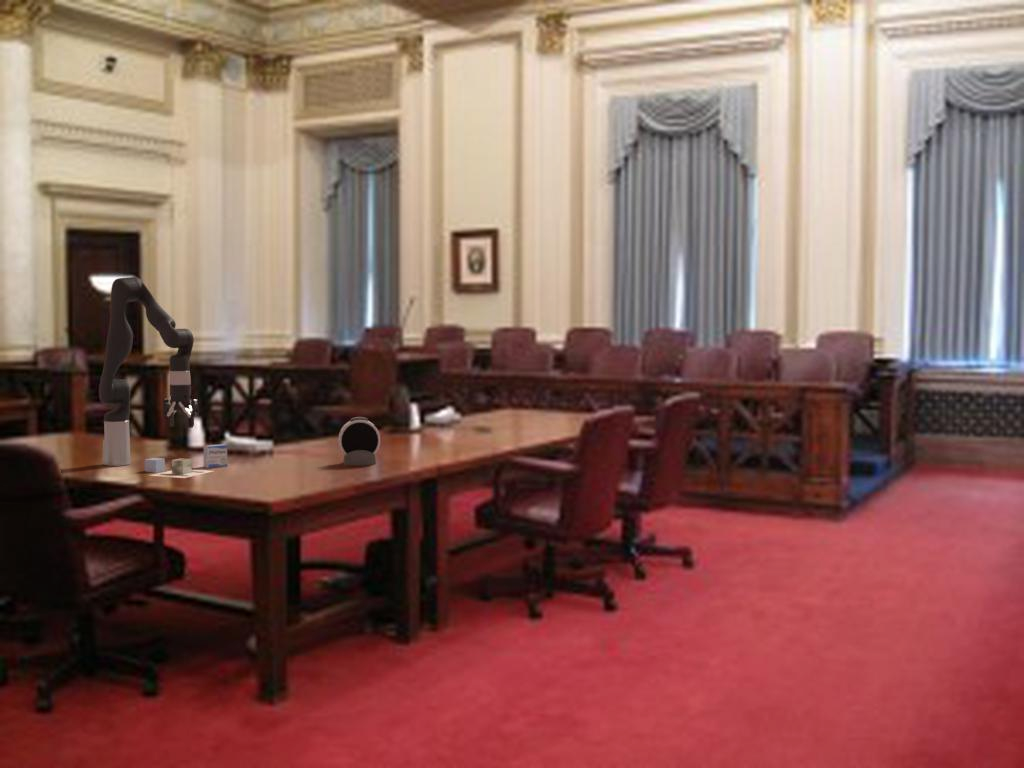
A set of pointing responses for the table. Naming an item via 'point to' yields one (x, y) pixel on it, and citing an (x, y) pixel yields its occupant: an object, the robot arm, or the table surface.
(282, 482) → the table surface
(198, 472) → the letter sheet
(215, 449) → the medicine box
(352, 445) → the alarm clock
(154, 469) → the blue cube
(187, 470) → the block
